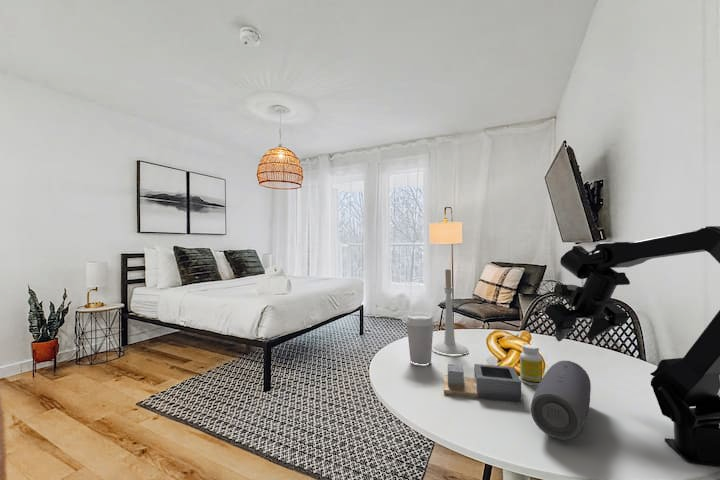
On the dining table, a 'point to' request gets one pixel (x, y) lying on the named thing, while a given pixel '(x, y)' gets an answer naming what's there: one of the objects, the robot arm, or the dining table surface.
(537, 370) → the supplement bottle
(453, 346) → the candlestick
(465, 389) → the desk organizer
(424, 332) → the coffee cup
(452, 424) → the dining table surface
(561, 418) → the bluetooth speaker
